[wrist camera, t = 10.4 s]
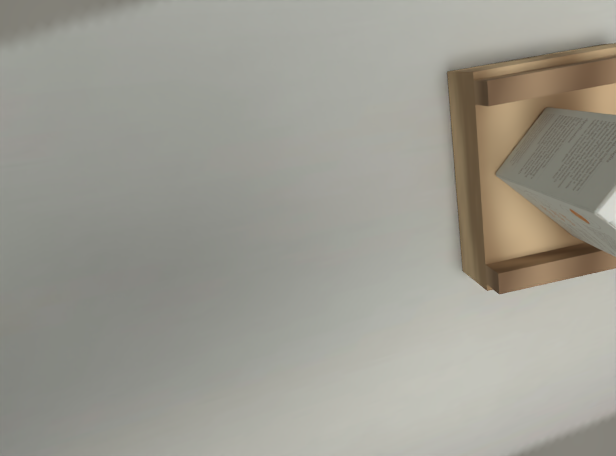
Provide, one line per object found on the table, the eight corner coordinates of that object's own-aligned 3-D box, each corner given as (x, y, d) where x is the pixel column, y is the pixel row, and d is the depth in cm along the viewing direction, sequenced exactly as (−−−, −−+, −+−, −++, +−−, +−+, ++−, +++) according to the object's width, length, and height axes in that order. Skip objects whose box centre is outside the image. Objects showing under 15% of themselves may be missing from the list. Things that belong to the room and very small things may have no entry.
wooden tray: (462, 270, 43) (499, 300, 37) (447, 71, 38) (486, 72, 33) (604, 240, 44) (660, 264, 39) (605, 44, 40) (669, 40, 34)
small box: (623, 172, 38) (768, 209, 28) (570, 237, 39) (694, 296, 29) (545, 103, 36) (673, 116, 26) (490, 173, 36) (595, 213, 27)
